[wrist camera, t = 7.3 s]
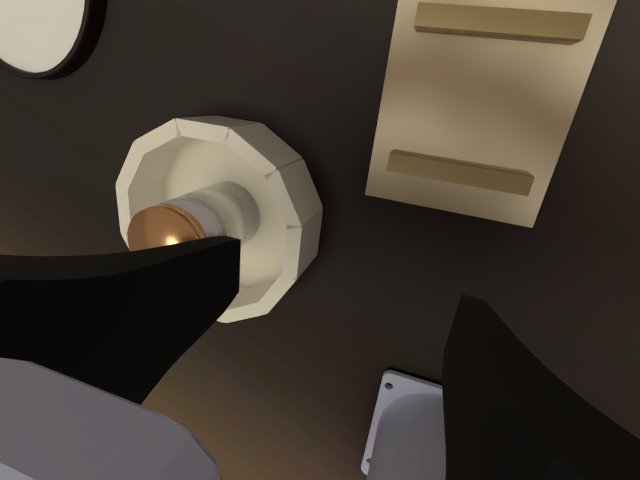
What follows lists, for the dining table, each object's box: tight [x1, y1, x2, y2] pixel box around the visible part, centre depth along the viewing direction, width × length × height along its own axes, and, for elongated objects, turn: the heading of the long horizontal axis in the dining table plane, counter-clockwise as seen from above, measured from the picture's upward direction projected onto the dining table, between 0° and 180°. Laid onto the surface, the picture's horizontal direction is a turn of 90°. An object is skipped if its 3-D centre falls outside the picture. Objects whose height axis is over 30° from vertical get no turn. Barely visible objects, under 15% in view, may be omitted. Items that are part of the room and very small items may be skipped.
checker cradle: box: [365, 0, 617, 228], centre depth 16 cm, size 10×8×2 cm
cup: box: [116, 116, 323, 323], centre depth 21 cm, size 11×11×4 cm
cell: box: [127, 181, 260, 251], centre depth 20 cm, size 4×4×6 cm
